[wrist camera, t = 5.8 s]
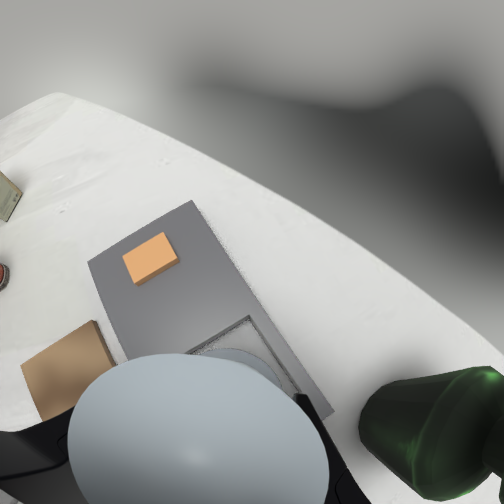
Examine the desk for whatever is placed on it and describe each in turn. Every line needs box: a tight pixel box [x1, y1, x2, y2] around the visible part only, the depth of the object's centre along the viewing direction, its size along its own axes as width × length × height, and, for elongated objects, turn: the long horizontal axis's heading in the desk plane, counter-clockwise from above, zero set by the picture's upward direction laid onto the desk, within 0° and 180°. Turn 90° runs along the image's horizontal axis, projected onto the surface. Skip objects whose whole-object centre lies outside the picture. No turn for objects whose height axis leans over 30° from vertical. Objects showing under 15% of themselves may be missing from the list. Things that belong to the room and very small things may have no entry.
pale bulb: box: [68, 349, 329, 504], centre depth 9 cm, size 6×6×12 cm
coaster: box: [20, 320, 116, 422], centre depth 17 cm, size 10×10×1 cm
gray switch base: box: [87, 200, 335, 421], centre depth 18 cm, size 19×10×3 cm, turn 33°
